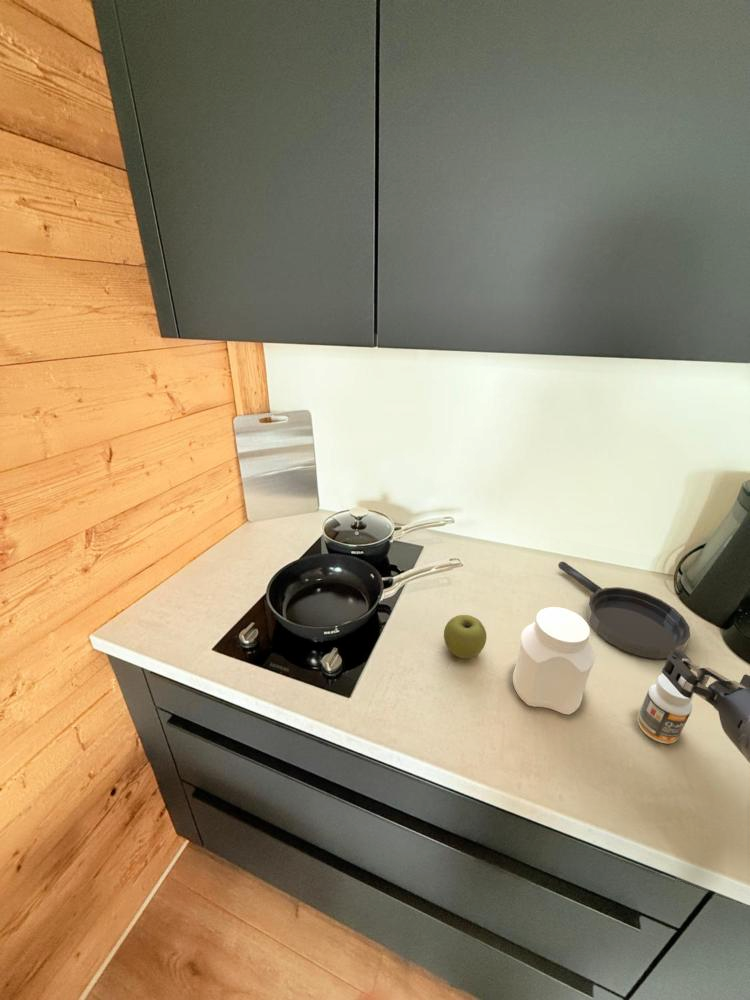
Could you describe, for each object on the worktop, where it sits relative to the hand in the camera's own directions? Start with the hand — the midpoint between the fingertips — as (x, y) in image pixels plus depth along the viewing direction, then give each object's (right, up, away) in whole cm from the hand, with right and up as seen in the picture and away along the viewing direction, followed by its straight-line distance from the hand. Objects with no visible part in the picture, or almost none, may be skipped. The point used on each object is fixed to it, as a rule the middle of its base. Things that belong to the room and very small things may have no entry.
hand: (708, 667), depth 57 cm
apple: (-28, -7, +26) cm, 39 cm away
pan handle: (+4, +3, +44) cm, 44 cm away
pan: (+9, -4, +32) cm, 34 cm away
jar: (-15, -11, +18) cm, 26 cm away
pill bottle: (+1, -15, +11) cm, 19 cm away
